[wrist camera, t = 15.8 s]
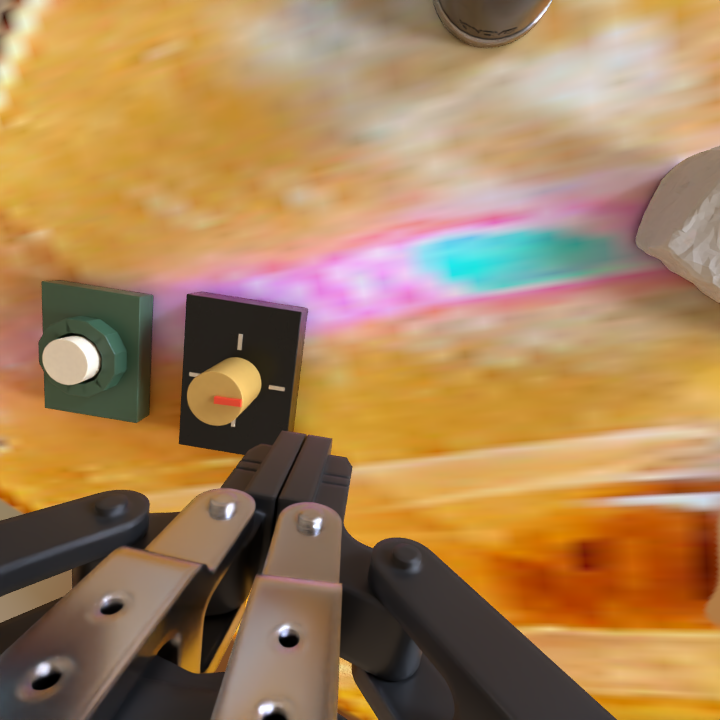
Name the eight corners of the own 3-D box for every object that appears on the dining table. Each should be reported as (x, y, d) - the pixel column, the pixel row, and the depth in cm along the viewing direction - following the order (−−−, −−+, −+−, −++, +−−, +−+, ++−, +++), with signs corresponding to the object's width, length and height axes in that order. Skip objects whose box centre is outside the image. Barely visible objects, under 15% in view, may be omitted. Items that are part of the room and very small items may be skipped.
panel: (201, 291, 39) (185, 294, 36) (308, 308, 39) (301, 312, 36) (192, 431, 42) (177, 444, 39) (291, 448, 42) (283, 462, 39)
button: (57, 332, 37) (41, 335, 35) (101, 339, 37) (87, 343, 35) (58, 375, 38) (42, 381, 36) (101, 382, 38) (87, 388, 36)
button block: (59, 280, 40) (24, 282, 36) (153, 294, 39) (127, 298, 35) (61, 400, 42) (28, 414, 38) (149, 415, 42) (125, 430, 38)
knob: (211, 401, 38) (184, 423, 33) (213, 354, 37) (185, 369, 32) (260, 407, 38) (240, 430, 33) (262, 360, 37) (242, 376, 32)
